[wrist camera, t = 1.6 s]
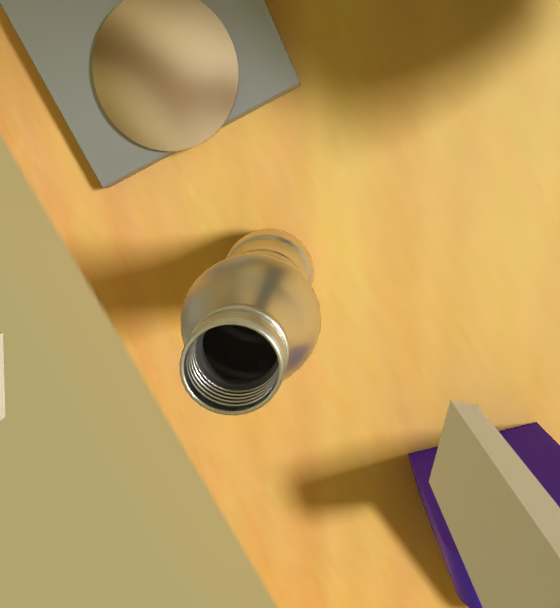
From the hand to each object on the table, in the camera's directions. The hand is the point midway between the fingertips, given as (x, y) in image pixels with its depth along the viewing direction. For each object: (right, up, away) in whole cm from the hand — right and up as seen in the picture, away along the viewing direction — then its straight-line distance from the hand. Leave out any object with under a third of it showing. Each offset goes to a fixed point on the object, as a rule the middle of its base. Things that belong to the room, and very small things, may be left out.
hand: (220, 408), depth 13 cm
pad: (-6, +19, +17) cm, 26 cm away
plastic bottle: (+1, +6, +22) cm, 23 cm away
